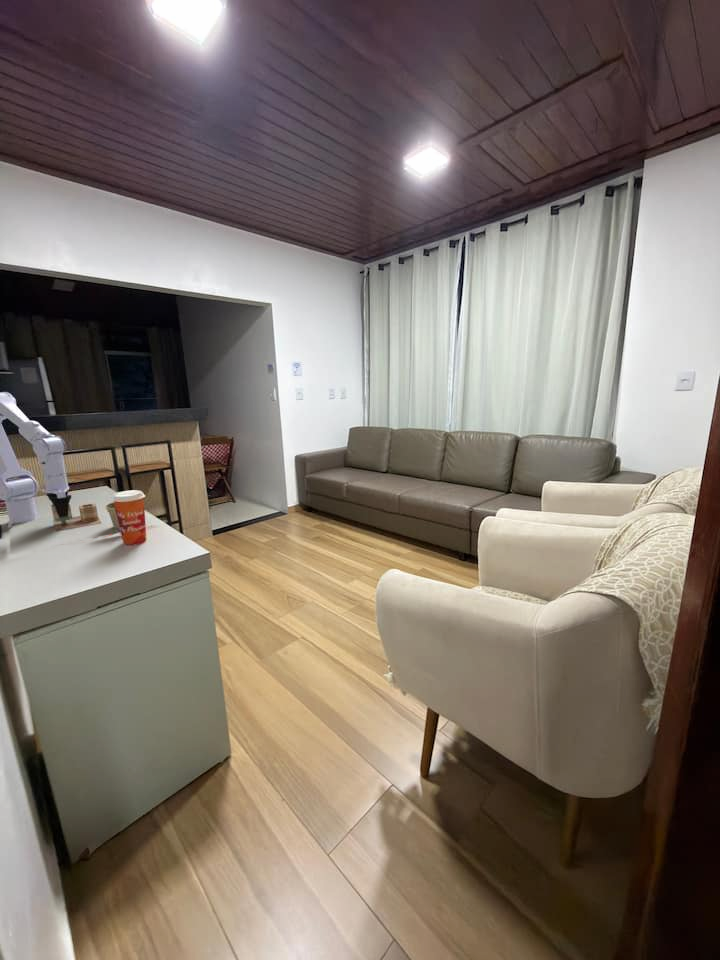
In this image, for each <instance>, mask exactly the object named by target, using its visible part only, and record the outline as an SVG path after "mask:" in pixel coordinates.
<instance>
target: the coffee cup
mask: <svg viewBox="0 0 720 960" xmlns="http://www.w3.org/2000/svg"><path fill="white" fill-rule="evenodd" d="M145 497H146V495H145V494H144V492H143V491H142V490H137V489H133V490H125V491H124V490H123V491H118V492H116V493H114V495H113V497H112V498H111V500H112V502H114V505H115V510H116V514H117V518H118V522H119V527H120V529H119V532H120V531H121V532H120V535H121V539H122V542H123V545H125V544H126V545H125V546H135V545H134V544H136V545H139V543H140V544H142V543H144V542H146V541H147V527H146V512H145ZM145 540H146V541H145Z"/></svg>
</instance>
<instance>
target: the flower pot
mask: <svg viewBox="0 0 720 960" xmlns="http://www.w3.org/2000/svg"><path fill="white" fill-rule="evenodd" d="M104 508H105V509H106V511H107V513H108V514H109V517H110V520H111V523H112V526H113V528H114V529H115V530H119V533H121V531H120V527H119V522H118V518H117V514H116V510H115V505H114V501H112V502H110V503H107V504H105V506H104Z"/></svg>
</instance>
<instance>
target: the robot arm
mask: <svg viewBox="0 0 720 960" xmlns="http://www.w3.org/2000/svg"><path fill="white" fill-rule="evenodd" d="M6 419H8V420H9V421H10V422H11V423H13V424H14V425H16V426H17V427H18V433H19V435H21V436H22V437H24V438H25V439H26V440H27V441H28V443H30V444H31V445H32V450H33V452H34V454H35V455H36V457H37V460H38V462H39V463H40V465H41V471H42V475H43V476H42V477H43V481H44V485H45V486H44V487H45V488H42V489H40V491H41V493H46V494H45V495H46V497H48V500H49V501H50V502H51V503H52V504H51V505H53V504H54V506H55V508H56V511H57V513H58V515H59V517H66V516H68V507H69V504H70V501H71V499H72V495H71V494H69V490H70V486H69V483H68V482H69V481H68V477H67V470H66V467H65V461H64V455H63V454H64V453H65V452H66V451H67V450H66V449H67V445H66V442H65V440H64V439H63V437H61V436H60V435H54V434H51V432H49V431H48V430H47V429H45V427H44V426H42V425H41V424H40V422H38V421H37V420H36V421H35V420H30V419H29V418H28V417H27V416H26V415H25V413H24V412H23V411H22V410H21V409H20V408H19V407H18V406H17V400H16V398H15V397H14V396H13V395H12V394H11V393H10V392H7V391H2V392H0V500H2V501H4V502H5V507H6V511H7V516H8V526H7V527H8V528H9V529H12V527H13V524H23V523H28V522H31V521H35V520H37V519H38V514H37V508H36V503H35V498H34V497H35V496H36V493H37V492H38V491H39V483H38V481H37V480H36V479H35V477H34V476H33V475H32V472H31V471H29V470H27V469H25V468H22V467H21V466H20V463H19V461H18V459H17V456H16V454H15V452H14V450H13V448H12V447H13V446H12V444H11V443H10V440H9V437H8V436H7V434H6V431H5V429H4V427H3V424H2V423H3V420H6Z"/></svg>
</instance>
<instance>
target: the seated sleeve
mask: <svg viewBox="0 0 720 960" xmlns="http://www.w3.org/2000/svg"><path fill="white" fill-rule="evenodd" d="M78 509H79V514H80V515H79V516H81V520H82V522H89V521H95V520H98V518H99V514H98V510H97V505H96V504H95V503H94V502H92V503H87V504H86V503H84V504H81V505H78Z"/></svg>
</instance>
